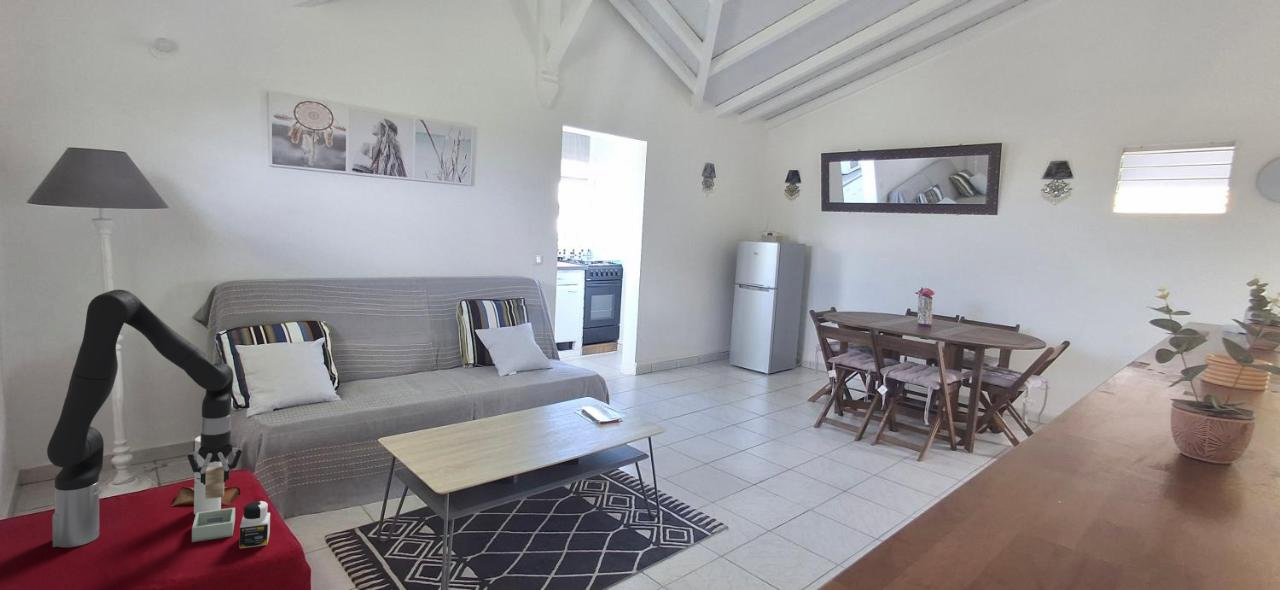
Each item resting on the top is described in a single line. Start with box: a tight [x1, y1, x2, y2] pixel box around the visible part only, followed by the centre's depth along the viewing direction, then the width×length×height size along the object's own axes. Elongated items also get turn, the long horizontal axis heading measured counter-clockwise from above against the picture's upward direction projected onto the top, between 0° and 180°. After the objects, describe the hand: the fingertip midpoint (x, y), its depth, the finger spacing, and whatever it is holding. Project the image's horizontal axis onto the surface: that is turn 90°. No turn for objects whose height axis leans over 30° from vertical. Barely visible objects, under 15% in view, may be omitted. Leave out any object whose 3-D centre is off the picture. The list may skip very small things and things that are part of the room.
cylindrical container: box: [193, 435, 223, 516], centre depth 192 cm, size 7×7×25 cm
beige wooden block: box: [205, 465, 225, 499], centre depth 180 cm, size 4×2×9 cm, turn 121°
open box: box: [191, 507, 236, 543], centre depth 182 cm, size 10×10×4 cm
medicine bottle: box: [238, 500, 271, 549], centre depth 179 cm, size 7×7×12 cm
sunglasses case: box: [171, 486, 241, 507], centre depth 200 cm, size 18×7×7 cm, turn 106°
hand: (215, 482), depth 180 cm, fingers closed on beige wooden block, 4 cm apart
